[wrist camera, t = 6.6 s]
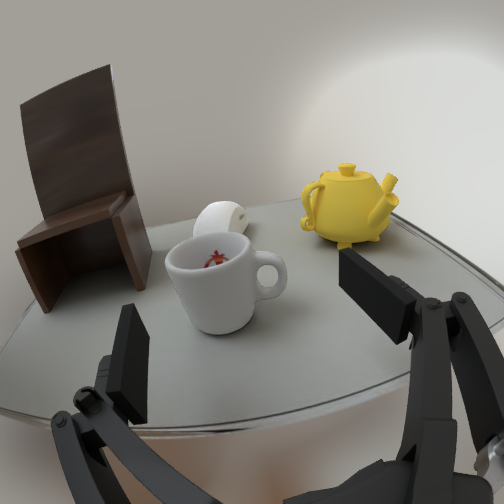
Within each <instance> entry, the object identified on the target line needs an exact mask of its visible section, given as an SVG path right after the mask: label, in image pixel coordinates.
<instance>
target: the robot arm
mask: <svg viewBox="0 0 504 504" xmlns="http://www.w3.org/2000/svg"><path fill="white" fill-rule="evenodd" d="M339 286H340V287H341V288H342V289H343V290H344V291H345V292H346V293H347V294H348V295H349V296H350V297H351V298H352V299H353V300H354V301H355V302H356V303H357V304H358V305H359V306H360V307H361V308H362V309H363V310H364V311H365V312H366V313H367V315H368V316H369V317H370V318H371V319H372V320H373V321H374V322H375V323H376V324H377V325H378V326H379V327H380V328H381V329H382V330H383V331H384V332H385V333H386V334H387V335H388V337H389V338H390V339H391V340H392V341H393V342H394V343H395V344H396V345H397V344H399V343H401V342H403V341H405V340H407V337H408V333H409V332H410V333H411V334H412V335H413V337H412V340H411V344H410V347H409V349H410V350H411V347H412V350H411V372H410V385H409V395H408V404H407V413H406V420H405V426H404V432H403V438H402V443H401V447H400V450H399V452H398V454H397V457H396V460H393V461H387V462H383V460H382V459H380V460H378V461H376V462H375V463H373V464H371V465H369V466H367V467H365V468H363V469H361V470H359V471H358V472H357V473H355V474H354V475H353V476H351V477H350V478H349V479H348V480H346V481H345V482H344V483H342V484H341V485H339V486H338V487H335V488H330V489H323V490H317V491H310V492H307V493H304V494H301V495H298V496H295V497H292V498H288V499H285V500H283V502H284V503H283V504H493V494H494V493H495V492H496V491H498V490H499V489H500V488H501V487H502V486H503V485H504V358H503V355H502V353H501V351H500V349H499V347H498V345H497V343H496V341H495V339H494V337H493V335H492V333H491V332H490V330H489V328H488V326H487V324H486V322H485V321H484V319H483V317H482V315H481V314H480V312H479V310H478V309H477V307H476V305H475V304H474V302H473V300H472V299H471V297H470V296H469V295H468V294H466V293H464V292H456V293H454V294H453V295H452V299H451V301H447V302H441V301H440V300H438V299H436V298H424V297H423V296H422V295H420V294H419V293H418V292H417V291H415V290H414V289H413V288H412V287H410V286H409V285H408V284H405V282H404V281H402V280H401V279H400V278H398V277H395V276H392V275H391V276H387V275H386V274H384V273H383V272H382V271H380V270H379V269H378V268H376V267H375V266H374V265H372V264H371V263H370V262H368V261H367V260H366V259H364V258H363V257H362V256H360V255H359V254H358V253H356V252H355V251H354V250H352V249H351V248H350V247H347V248H343V249H340V250H339ZM149 341H150V337H149V335H148V333H147V330H146V328H145V326H144V324H143V322H142V320H141V318H140V316H139V314H138V311H137V309H136V307H135V305H134V303H132V304H128V305H124V306H122V310H121V314H120V318H119V322H118V327H117V331H116V336H115V340H114V345H113V350H112V355H107V356H104V357H103V358H102V360H101V361H100V363H99V367H98V372H97V376H96V377H97V378H96V381H95V386H94V388H93V387H89V386H87V387H83V388H81V389H79V390H78V391H77V392H76V394H75V396H74V399H73V403H74V405H75V407H76V408H77V409H78V410H79V411H80V413H77V414H74V415H72V416H71V415H70V414H69V413H68V412H66V411H59V412H57V413H56V414H55V415H54V416H53V418H52V420H51V428H52V433H53V437H54V441H55V444H56V448H57V452H58V455H59V459H60V462H61V465H62V468H63V471H64V474H65V477H66V480H67V483H68V485H69V488H70V491H71V493H72V496H73V498H74V500H75V503H76V504H131V503H130V501H129V499H128V498H127V496H126V494H125V493H124V491H123V489H122V487H121V485H120V484H119V482H118V480H117V478H116V476H115V474H114V472H113V470H112V468H111V466H110V464H109V462H108V460H107V458H106V456H105V454H104V451H103V449H102V447H105V446H108V447H109V448H110V450H111V451H112V452H113V453H114V454H115V455H116V457H117V458H118V459H119V460H120V461H121V462H122V463H123V464H124V466H125V467H126V468H127V469H128V470H129V471H130V472H131V473H132V474H133V475H134V476H135V477H136V478H137V479H138V480H139V481H140V482H141V483H142V484H143V485H144V486H145V487H146V488H147V489H148V490H149V491H150V492H151V493H152V494H153V495H154V496H156V497H157V498H158V499H159V500H160V501H161V502H162V503H163V504H223V503H221V502H220V501H218V500H217V499H215V498H214V497H212V496H210V495H209V494H208V493H206V492H205V491H203V490H202V489H201V488H199V487H198V486H196V485H195V484H194V483H192V482H191V481H190V480H188V479H187V478H185V477H184V476H183V475H182V474H180V473H179V472H178V471H177V470H175V469H174V468H173V467H172V466H171V465H169V464H168V463H167V462H166V461H165V460H163V459H162V458H161V457H160V456H159V455H158V454H157V453H155V452H154V451H153V450H152V449H151V448H150V447H149V446H148V445H147V444H146V443H145V442H144V441H142V440H141V439H140V438H139V437H138V436H137V435H136V434H135V433H134V432H133V431H132V430H131V429H130V428H129V427H128V419H129V421H130V422H131V423H132V424H133V425H137V424H146V423H147V387H148V358H149ZM451 363H452V365H453V369H454V372H455V375H456V378H457V381H458V384H459V388H460V391H461V394H462V398H463V401H464V405H465V409H466V413H467V417H468V421H469V426H470V430H471V435H472V439H473V443H474V446H475V449H476V452H477V454H478V455H477V458H476V462H475V464H474V469H475V470H476V471H478V472H477V476H476V475H468V474H463V473H457V472H453V471H454V463H455V454H456V442H457V421H456V420H454V419H453V418H452V379H451V378H452V377H451Z"/></svg>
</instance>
